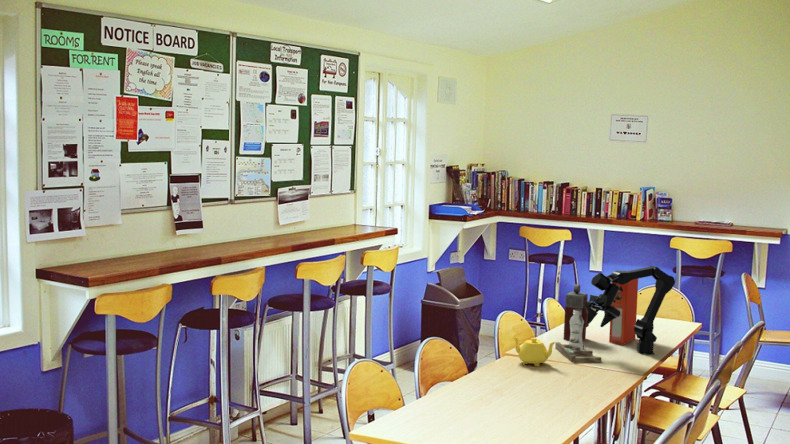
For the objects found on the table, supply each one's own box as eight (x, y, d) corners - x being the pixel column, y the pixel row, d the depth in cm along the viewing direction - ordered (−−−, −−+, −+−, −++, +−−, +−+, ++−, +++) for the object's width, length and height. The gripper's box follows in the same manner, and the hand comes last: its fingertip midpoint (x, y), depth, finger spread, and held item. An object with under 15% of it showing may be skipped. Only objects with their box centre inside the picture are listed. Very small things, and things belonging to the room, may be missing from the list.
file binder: (608, 342, 389) (612, 279, 387) (619, 336, 404) (623, 275, 401) (624, 345, 385) (628, 281, 382) (635, 338, 399) (638, 277, 396)
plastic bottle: (583, 354, 365) (585, 312, 363) (568, 353, 366) (570, 311, 364) (582, 350, 371) (584, 309, 369) (568, 349, 372) (570, 308, 370)
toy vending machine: (585, 342, 387) (588, 287, 385) (563, 339, 393) (565, 284, 390) (590, 339, 395) (592, 284, 393) (568, 336, 401) (571, 282, 398)
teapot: (560, 362, 349) (561, 337, 348) (550, 370, 336) (551, 344, 335) (517, 356, 358) (518, 331, 357) (506, 363, 345) (507, 338, 344)
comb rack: (583, 348, 375) (583, 340, 375) (601, 362, 351) (601, 354, 351) (555, 348, 374) (555, 340, 374) (571, 362, 350) (571, 353, 350)
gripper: (584, 284, 367) (570, 313, 365) (611, 290, 351) (596, 320, 348) (600, 295, 372) (585, 324, 369) (627, 301, 355) (612, 331, 352)
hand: (594, 325), depth 359 cm, fingers open, 9 cm apart
